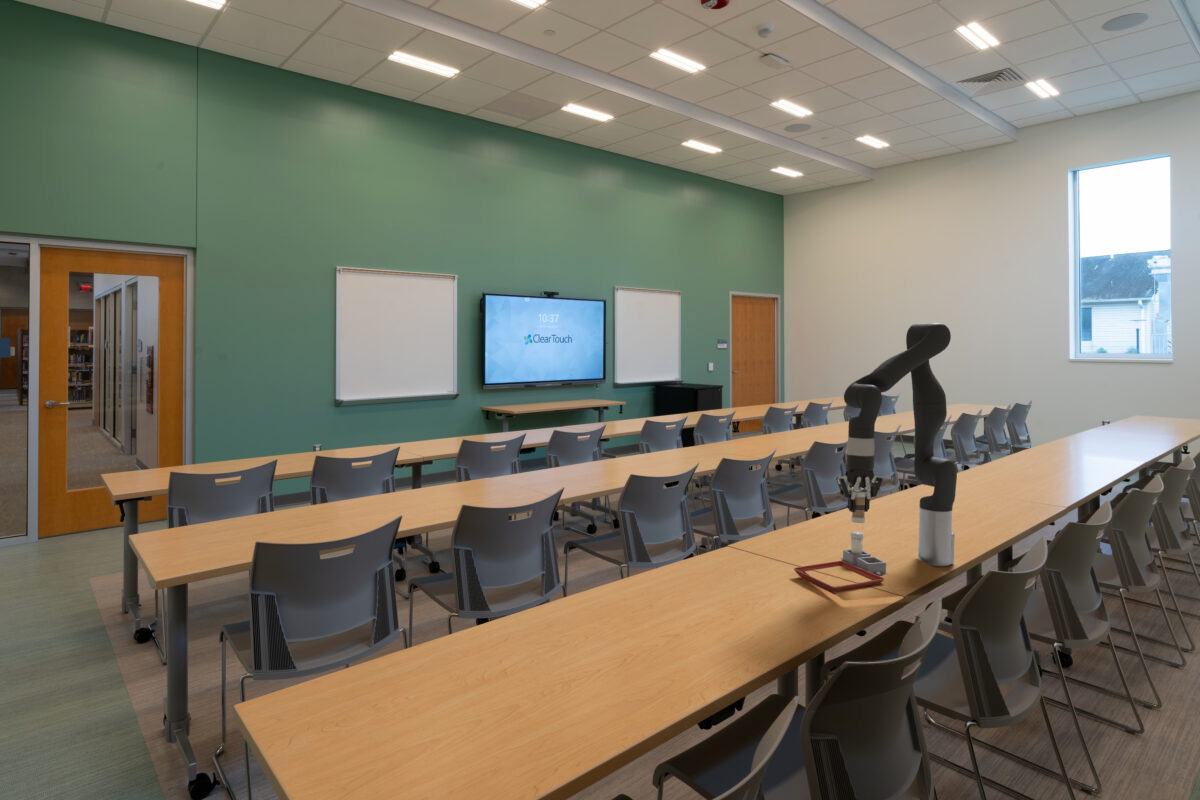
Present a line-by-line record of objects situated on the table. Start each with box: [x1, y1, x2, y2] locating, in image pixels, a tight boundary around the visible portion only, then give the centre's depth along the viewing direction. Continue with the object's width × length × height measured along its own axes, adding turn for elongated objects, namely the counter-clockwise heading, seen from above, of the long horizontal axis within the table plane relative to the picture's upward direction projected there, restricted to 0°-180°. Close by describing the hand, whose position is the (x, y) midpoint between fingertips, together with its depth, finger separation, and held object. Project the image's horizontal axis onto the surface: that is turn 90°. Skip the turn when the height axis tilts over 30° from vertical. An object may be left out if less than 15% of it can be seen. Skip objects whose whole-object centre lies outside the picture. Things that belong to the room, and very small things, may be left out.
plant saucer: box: [793, 560, 885, 595], centre depth 189 cm, size 18×18×3 cm
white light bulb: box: [850, 531, 864, 555], centre depth 202 cm, size 4×4×9 cm
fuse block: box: [839, 548, 889, 576], centre depth 199 cm, size 6×16×4 cm, turn 9°
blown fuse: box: [851, 489, 866, 524], centre depth 191 cm, size 4×4×9 cm
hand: (858, 511), depth 191 cm, fingers closed on blown fuse, 3 cm apart
